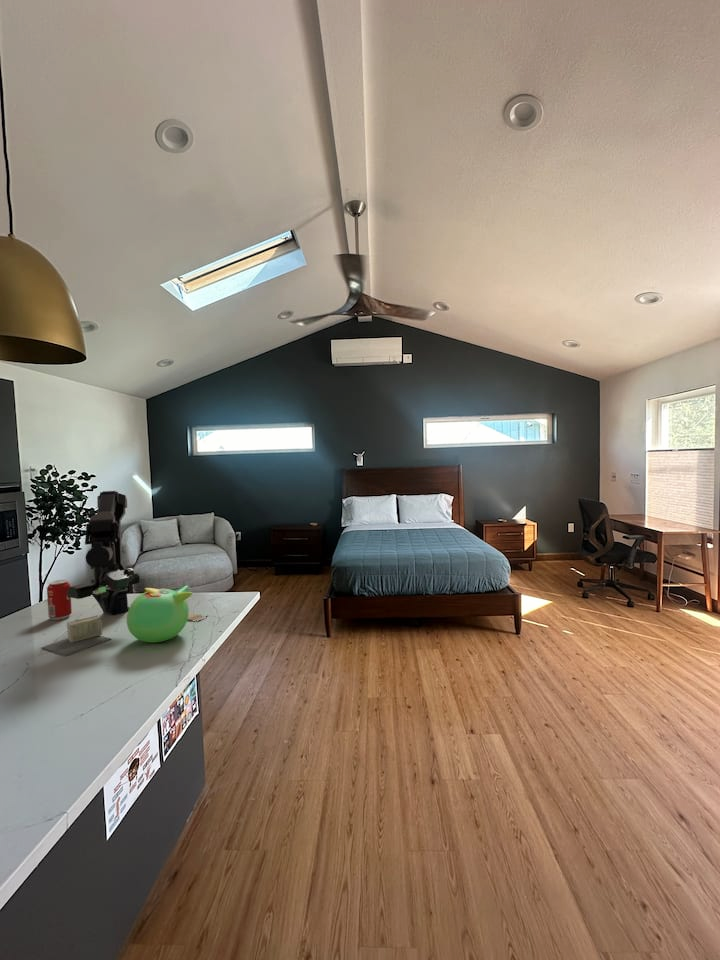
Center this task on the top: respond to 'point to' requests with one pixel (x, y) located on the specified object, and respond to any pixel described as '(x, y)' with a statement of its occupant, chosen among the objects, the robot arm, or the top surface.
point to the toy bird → (158, 614)
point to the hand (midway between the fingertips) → (107, 613)
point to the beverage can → (58, 600)
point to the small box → (84, 628)
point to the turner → (195, 617)
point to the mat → (74, 645)
